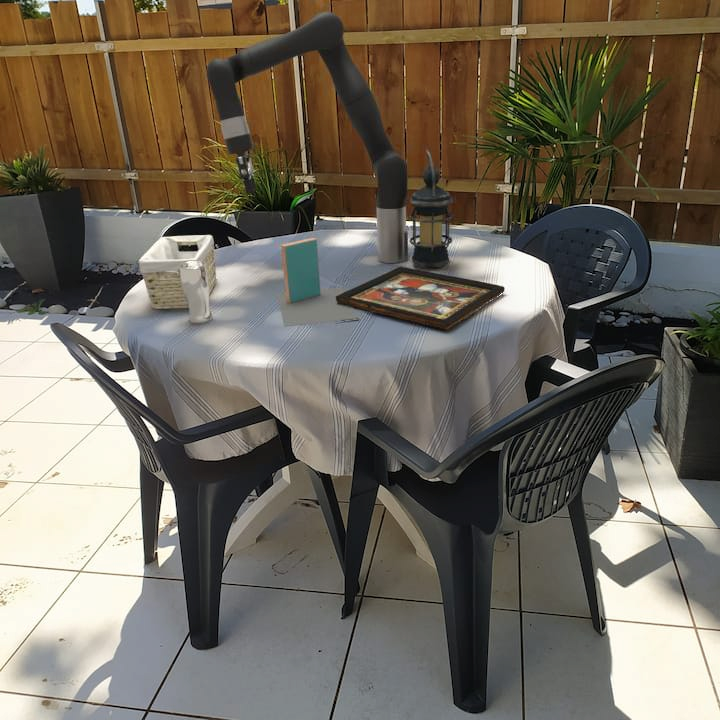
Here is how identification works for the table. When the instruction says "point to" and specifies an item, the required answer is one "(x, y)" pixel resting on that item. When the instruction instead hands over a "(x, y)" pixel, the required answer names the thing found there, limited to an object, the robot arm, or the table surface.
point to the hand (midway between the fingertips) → (252, 192)
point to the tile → (301, 270)
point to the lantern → (430, 220)
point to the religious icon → (421, 296)
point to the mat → (316, 309)
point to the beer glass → (196, 290)
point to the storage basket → (174, 268)
